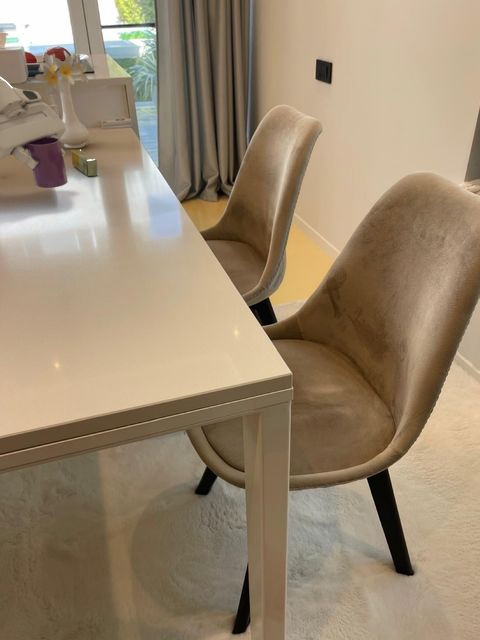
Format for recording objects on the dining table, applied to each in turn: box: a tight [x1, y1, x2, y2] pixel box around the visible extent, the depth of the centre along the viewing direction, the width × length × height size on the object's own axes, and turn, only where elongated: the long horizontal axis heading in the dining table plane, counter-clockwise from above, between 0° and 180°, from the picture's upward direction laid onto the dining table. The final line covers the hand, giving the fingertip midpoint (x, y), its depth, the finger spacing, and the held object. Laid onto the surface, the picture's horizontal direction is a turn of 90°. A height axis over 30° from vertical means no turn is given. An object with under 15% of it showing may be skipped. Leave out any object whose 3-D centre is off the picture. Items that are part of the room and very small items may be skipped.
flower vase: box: [34, 50, 90, 150], centre depth 161 cm, size 13×18×25 cm
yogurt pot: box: [27, 137, 69, 189], centre depth 121 cm, size 7×7×9 cm
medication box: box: [70, 149, 98, 177], centre depth 146 cm, size 12×3×4 cm, turn 35°
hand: (49, 161), depth 121 cm, fingers closed on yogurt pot, 7 cm apart
